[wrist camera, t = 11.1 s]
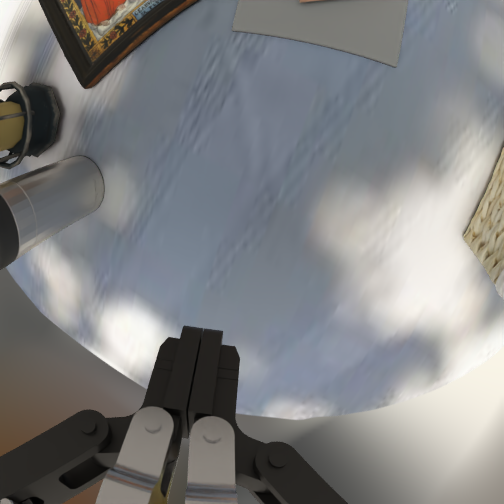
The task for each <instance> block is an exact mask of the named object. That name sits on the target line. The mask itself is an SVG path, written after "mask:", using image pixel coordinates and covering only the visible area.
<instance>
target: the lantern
mask: <svg viewBox="0 0 504 504" xmlns="http://www.w3.org/2000/svg"><path fill="white" fill-rule="evenodd" d="M13 88H15V89H16V90H17V91H16V92H14V93H13V94H12V95H10V96H9V97H8V98H7V100H6V101H3V100H1V99H0V151H3V150H8V151H10V153H9V155H8V156H5V157H2V158H0V167H2V168H7V169H11V168H13V167H15V166H16V165H18V164H20V162H21V161H22V159H23V158H24V156H29V157H30V156H31V155H33V156H35V157H38V156H39V155H40V154H42V153H43V152H44V151H45V150H46V149H47V148H48V147H50V146H51V145H52V144H53V143H54V141H55V136H56V131H57V126H58V121H59V116H60V111H59V108H58V105H57V102H56V100H55V97H54V94H53V90H52V88H51V87H49V86H45V85H41V84H38V83H34V82H33V83H32V84H30V85H29V86H25V87H24V88H23V87H22V86H20V85H19V84H18V83H16V82H7V83H3V84H2V85H1V86H0V92H1V91H2V90H5V89H13ZM12 153H15V154H12ZM17 156H19V157H18V158H17V160H16V161H14V162H12V163H11V164H8V163H6V162H7V161H8V160H9V159H11V158H14V157H17Z"/></svg>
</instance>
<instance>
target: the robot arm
mask: <svg viewBox="0 0 504 504" xmlns="http://www.w3.org/2000/svg"><path fill="white" fill-rule="evenodd" d="M103 194H104V184H103V179H102V176H101V173H100V171H99V169H98V168H97V166H96V165H95V164H94V162H93V161H91V160H90V159H89V158H86V157H84V156H75V157H72V158H69V159H65V160H62V161H59V162H56V163H53V164H50V165H47V166H45V167H42V168H39V169H36V170H33V171H31V172H28V173H25V174H23V175H20V176H18V177H15V178H13V179H10V180H8V181H5V182H3V183H1V184H0V270H1V269H3V268H5V267H6V266H8V265H9V264H11V263H12V262H13V261H15V260H16V259H18V258H19V257H21V256H22V255H24V254H25V253H27V252H28V251H30V250H31V249H33V248H34V247H36V246H37V245H39V244H40V243H42V242H43V241H45V240H47V239H48V238H50V237H51V236H53V235H55V234H56V233H58V232H60V231H61V230H63V229H64V228H66V227H68V226H69V225H71V224H73V223H74V222H76V221H78V220H80V219H81V218H83V217H85V216H87V215H88V214H90V213H92V212H93V211H95V210H96V209H97V208H98V207H99V206H100V204H101V202H102V199H103ZM222 338H223V331H219V330H212V329H205V328H204V331H203V328H197V327H190V326H184V327H183V329H182V333H181V337H180V339H178V338H171V337H168V338H167V339H166V340H165V342H164V343H163V344H162V345H161V346H160V348H159V352H158V355H157V360H156V362H155V365H154V369H153V372H152V375H151V378H150V382H149V385H148V389H147V392H146V396H145V399H144V403H143V405H142V407H141V408H140V409H139V410H138V411H137V412H135V413H134V414H132V415H130V416H126V417H117V418H116V417H115V418H105V417H104V416H103V415H102V414H101V413H99V412H97V411H94V410H83V411H80V412H78V413H76V414H75V415H73V416H71V417H70V418H68V419H66V420H65V421H63V422H61V423H59V424H58V425H56V426H54V427H52V428H51V429H49V430H47V431H46V432H44V433H42V434H41V435H39V436H37V437H35V438H33V439H32V440H30V441H28V442H26V443H25V444H23V445H21V446H19V447H17V448H16V449H14V450H12V451H10V452H8V453H6V454H4V455H3V456H1V457H0V504H62V503H64V502H65V501H67V500H69V499H70V498H72V497H74V496H76V495H77V494H79V493H81V492H82V491H84V490H86V489H87V488H89V487H90V486H92V485H94V484H95V483H97V482H98V481H100V480H102V479H103V478H104V480H103V483H102V486H101V488H100V491H99V495H98V498H97V500H96V504H168V496H169V492H170V488H171V484H172V480H173V476H174V472H175V468H176V464H177V460H178V457H179V452H180V446H181V440H182V438H189V432H190V448H189V449H190V450H189V463H188V481H187V489H186V498H185V504H238V503H237V493H236V488H235V484H237V485H239V486H242V487H244V488H247V489H248V490H249V491H250V493H251V494H252V495H253V496H254V497H255V498H256V499H257V501H258V502H259V503H260V504H348V503H347V502H346V501H345V500H344V499H343V498H341V496H339V495H338V494H337V493H336V492H335V491H334V490H333V489H332V488H331V487H330V486H329V485H328V484H327V483H326V482H325V481H324V480H323V479H322V478H321V477H320V476H319V475H318V474H317V472H316V471H314V469H313V468H312V467H311V466H310V465H309V464H308V463H307V462H306V461H305V460H304V459H303V458H302V457H301V456H300V455H299V454H298V453H297V451H296V450H295V449H294V448H292V447H291V446H290V445H288V444H286V443H283V442H270V443H267V444H265V443H263V442H260V441H257V440H255V439H252V438H250V437H248V436H247V435H245V434H244V433H242V431H241V430H240V429H239V428H238V426H237V423H236V420H235V412H236V400H237V388H238V375H239V363H240V357H239V354H238V352H237V350H236V347H235V346H227V345H222Z"/></svg>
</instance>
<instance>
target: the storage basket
mask: <svg viewBox="0 0 504 504" xmlns="http://www.w3.org/2000/svg"><path fill="white" fill-rule="evenodd" d="M463 237H464V240H465V242H466V243H467V245H468V246H469V247H470V249H471V250H472V251H473V253H474V254H475V255H476V256H477V258H478V259H479V261H480V262H481V264H482V265H483V266H484V268H485V269H486V271H487V274H488V275H489V277H490V279H491V281H492V282H493V283H494V284H495V287H496V290H497V293H498V294H499V295H500V296H501V297H502V298H503V299H504V147H503V150H502V152H501V156H500V159H499V161H498V163H497V165H496V167H495V170H494V173H493V176H492V179H491V181H490V182H489V185H488V188H487V190H486V193H485V195H484V197H483V198H482V200H481V202H480V205H479V207H478V209H477V211H476V213H475V215H474V217H473V218H472V220H471V223H470V225H469V227H468V229H467V231H466V233H465V235H464V236H463Z"/></svg>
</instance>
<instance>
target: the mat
mask: <svg viewBox="0 0 504 504" xmlns="http://www.w3.org/2000/svg"><path fill="white" fill-rule="evenodd" d="M407 5H408V0H320V1H310V2H302V3H300V1H299V0H239V1H238V5H237V9H236V13H235V18H234V22H233V26H232V31H235V32H244V33H252V34H260V35H267V36H273V37H279V38H285V39H290V40H296V41H301V42H306V43H310V44H315V45H319V46H324V47H328V48H332V49H336V50H340V51H343V52H347V53H351V54H354V55H358V56H361V57H364V58H368V59H371V60H374V61H377V62H380V63H383V64H386V65H389V66H392V67H395V68H396V67H397V63H398V58H399V53H400V47H401V42H402V36H403V30H404V24H405V18H406V12H407Z"/></svg>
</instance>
